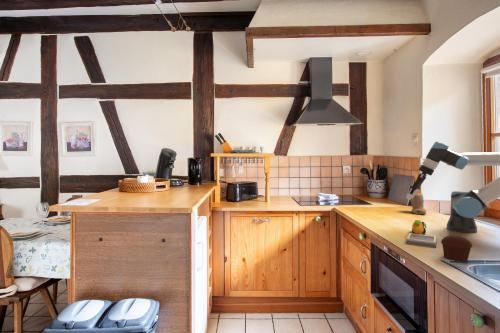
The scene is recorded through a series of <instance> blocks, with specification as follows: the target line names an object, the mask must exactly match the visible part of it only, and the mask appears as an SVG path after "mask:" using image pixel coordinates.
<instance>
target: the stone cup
mask: <svg viewBox="0 0 500 333" xmlns="http://www.w3.org/2000/svg"><path fill="white" fill-rule="evenodd" d="M409 201H410V204H411V206H412V208H411V212H412V213H413V214H416V215H425V214H427V210H426V209H425V208H424V207H423V205H424V195H423V193H416V194H415V196H414V198H411V200H409Z"/></svg>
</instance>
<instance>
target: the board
mask: <svg viewBox="0 0 500 333" xmlns="http://www.w3.org/2000/svg"><path fill="white" fill-rule="evenodd" d="M405 244H408V245H414V246H420V247H425V248H427V247H428V248H433V249H434V248H437V236H435V235H426V234H425V235H422V234H414V233H413V232H411V233H410V232H409V233H408V236H407V237H406V240H405Z"/></svg>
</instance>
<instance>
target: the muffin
mask: <svg viewBox="0 0 500 333" xmlns="http://www.w3.org/2000/svg"><path fill="white" fill-rule="evenodd" d="M440 243H441V244H442V245H441V246H442V251H443V258H445V259H446V260H448V261H452V260H454V261H453V262H457V261H460V262H459V263H464V262H468V261H469V256H470V253H471V248H472V247H473V244H472V242H471V241H470V240H469V239H467V238H466V237H465V236H463V235H462V236H461V235H457V234H449V235H446V236H444V237H443V238H442V239H441V241H440Z"/></svg>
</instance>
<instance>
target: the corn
mask: <svg viewBox="0 0 500 333" xmlns="http://www.w3.org/2000/svg"><path fill="white" fill-rule="evenodd" d="M411 227H412V228H411V231H412V232H411V233H412V234H420V235H426V233H427V224H426V223H425V222H424V221H422V220H419V219H416V220H414V222H413V223H412V224H411Z"/></svg>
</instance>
